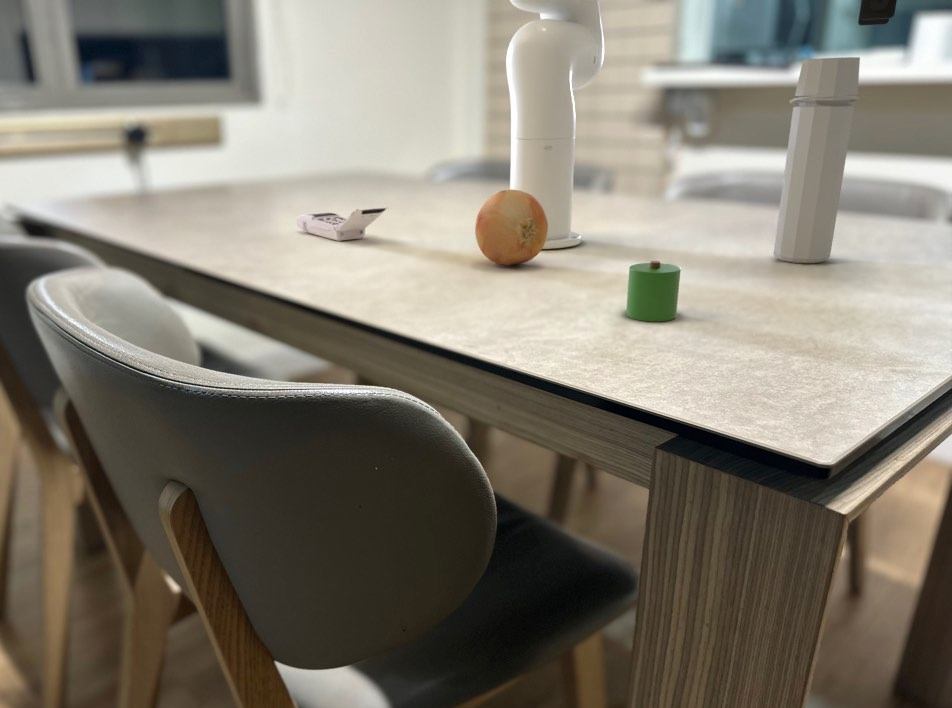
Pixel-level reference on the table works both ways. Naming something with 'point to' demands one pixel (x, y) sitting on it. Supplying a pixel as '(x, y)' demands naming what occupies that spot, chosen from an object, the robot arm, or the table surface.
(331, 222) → the mobile phone
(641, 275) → the green cylinder with nub
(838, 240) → the table surface
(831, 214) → the water bottle
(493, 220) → the onion
